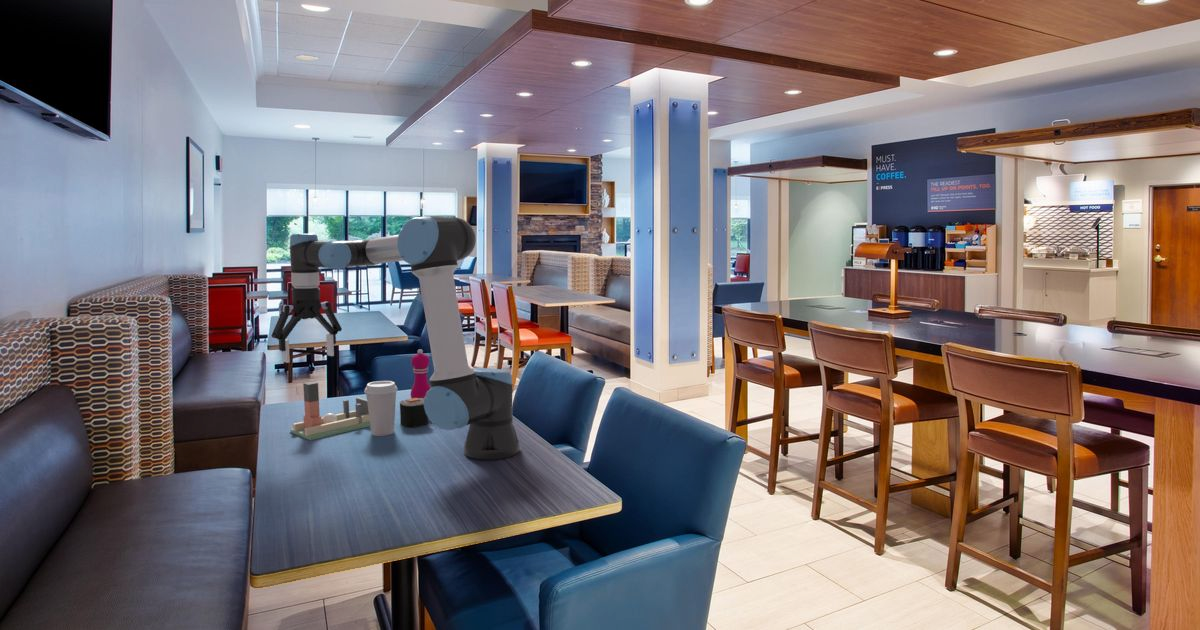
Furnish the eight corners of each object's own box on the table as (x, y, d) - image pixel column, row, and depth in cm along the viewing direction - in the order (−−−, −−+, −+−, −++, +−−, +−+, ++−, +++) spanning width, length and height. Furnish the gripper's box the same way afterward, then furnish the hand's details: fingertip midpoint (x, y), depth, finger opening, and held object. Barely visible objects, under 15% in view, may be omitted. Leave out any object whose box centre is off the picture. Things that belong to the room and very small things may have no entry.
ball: (339, 425, 217) (339, 413, 217) (327, 428, 214) (326, 415, 214) (333, 423, 220) (332, 410, 219) (320, 426, 217) (320, 413, 216)
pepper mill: (410, 405, 246) (408, 347, 244) (431, 403, 248) (430, 346, 246) (411, 410, 239) (409, 351, 237) (433, 408, 242) (431, 350, 239)
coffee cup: (404, 428, 218) (402, 380, 216) (391, 438, 209) (390, 387, 207) (373, 427, 219) (372, 379, 217) (360, 436, 210) (358, 387, 208)
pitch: (377, 424, 223) (376, 402, 222) (310, 440, 206) (309, 416, 205) (357, 417, 230) (356, 396, 229) (290, 432, 214) (289, 409, 213)
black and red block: (321, 429, 212) (319, 383, 210) (312, 431, 210) (310, 385, 208) (313, 426, 215) (311, 381, 214) (304, 428, 213) (301, 382, 211)
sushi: (432, 424, 223) (431, 399, 222) (407, 429, 218) (406, 403, 217) (421, 418, 229) (420, 394, 228) (396, 423, 224) (395, 398, 223)
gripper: (338, 283, 219) (341, 351, 222) (256, 288, 200) (260, 362, 203) (351, 285, 214) (354, 354, 217) (268, 290, 196) (272, 366, 198)
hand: (308, 358), depth 210 cm, fingers open, 13 cm apart
